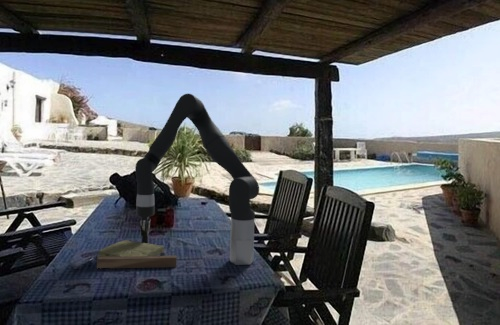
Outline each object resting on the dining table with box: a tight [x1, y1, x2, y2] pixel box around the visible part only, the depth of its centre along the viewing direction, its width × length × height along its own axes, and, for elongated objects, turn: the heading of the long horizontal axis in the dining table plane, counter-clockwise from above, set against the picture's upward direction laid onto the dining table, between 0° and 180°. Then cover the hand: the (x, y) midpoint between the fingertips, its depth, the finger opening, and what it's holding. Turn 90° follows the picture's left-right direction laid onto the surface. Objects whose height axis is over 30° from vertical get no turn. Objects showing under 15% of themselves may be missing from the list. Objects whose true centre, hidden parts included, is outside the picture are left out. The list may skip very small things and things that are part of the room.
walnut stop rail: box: [96, 255, 178, 270], centre depth 137 cm, size 2×28×4 cm, turn 99°
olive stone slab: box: [97, 239, 165, 258], centre depth 149 cm, size 19×20×4 cm
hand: (145, 243), depth 161 cm, fingers closed
